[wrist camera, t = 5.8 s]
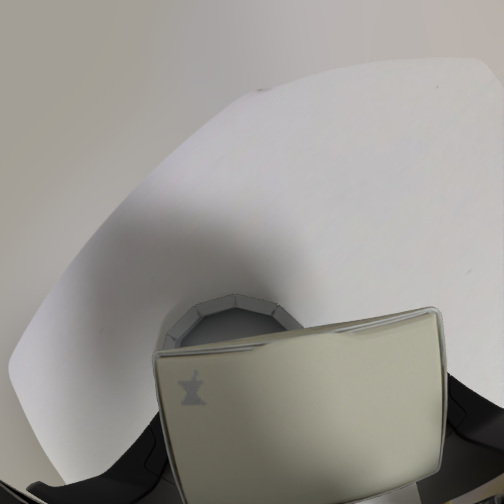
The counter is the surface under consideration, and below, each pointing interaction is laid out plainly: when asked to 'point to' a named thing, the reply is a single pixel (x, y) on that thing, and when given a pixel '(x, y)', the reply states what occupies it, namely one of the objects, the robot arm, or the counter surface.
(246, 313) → the round tray
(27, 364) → the counter surface
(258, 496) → the skincare box
